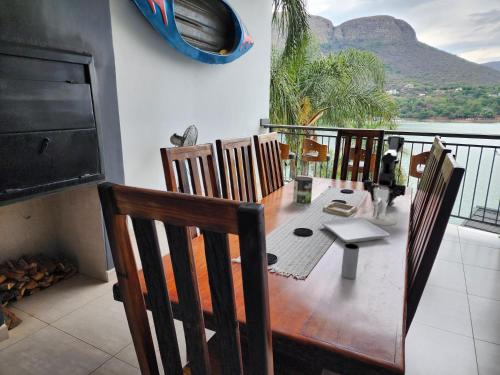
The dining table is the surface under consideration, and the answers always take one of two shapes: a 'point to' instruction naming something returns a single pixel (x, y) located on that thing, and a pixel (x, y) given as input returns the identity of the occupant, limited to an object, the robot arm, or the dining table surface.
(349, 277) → the planter
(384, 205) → the steel cup
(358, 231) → the salad plate
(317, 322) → the dining table surface
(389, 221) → the white flat disc
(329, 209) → the beech frame
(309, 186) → the coffee can
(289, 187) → the dining table surface
